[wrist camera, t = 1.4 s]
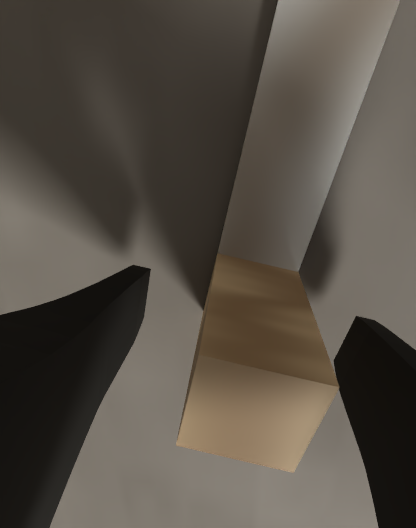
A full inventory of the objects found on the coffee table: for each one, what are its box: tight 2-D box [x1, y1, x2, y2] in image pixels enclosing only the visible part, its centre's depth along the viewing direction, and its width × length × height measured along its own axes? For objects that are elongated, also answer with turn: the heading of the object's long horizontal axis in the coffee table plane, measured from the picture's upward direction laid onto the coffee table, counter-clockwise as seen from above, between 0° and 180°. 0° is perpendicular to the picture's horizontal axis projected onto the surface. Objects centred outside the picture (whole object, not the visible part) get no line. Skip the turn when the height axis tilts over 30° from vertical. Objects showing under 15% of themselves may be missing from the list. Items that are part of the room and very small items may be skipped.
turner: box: [176, 0, 400, 473], centre depth 8 cm, size 3×13×6 cm, turn 168°
